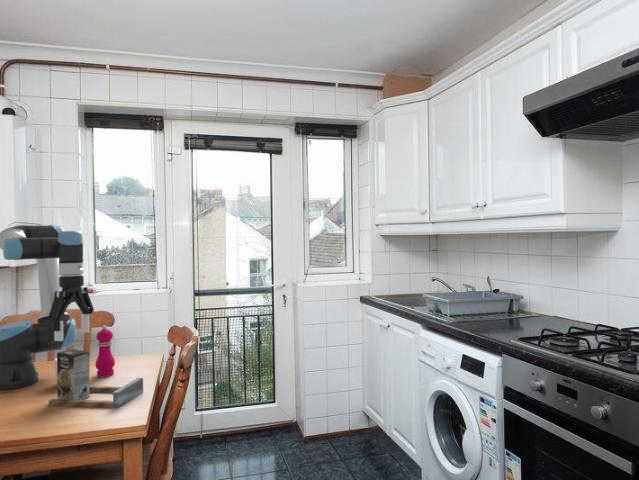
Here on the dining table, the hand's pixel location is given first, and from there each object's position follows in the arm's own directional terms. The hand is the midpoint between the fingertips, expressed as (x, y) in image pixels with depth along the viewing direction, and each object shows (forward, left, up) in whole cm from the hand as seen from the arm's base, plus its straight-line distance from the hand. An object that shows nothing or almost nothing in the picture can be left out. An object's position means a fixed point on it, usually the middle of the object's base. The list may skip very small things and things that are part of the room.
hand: (72, 336), depth 154 cm
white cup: (-13, +14, -22) cm, 29 cm away
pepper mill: (-5, +26, -22) cm, 34 cm away
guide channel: (+8, 0, -22) cm, 23 cm away
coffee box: (0, 0, -22) cm, 22 cm away
